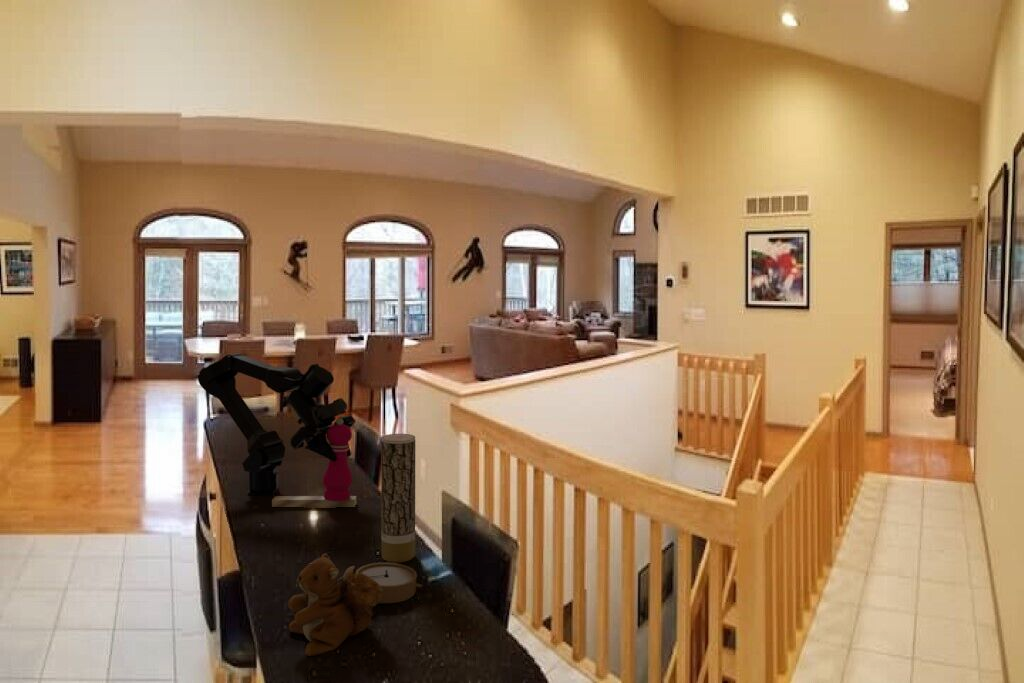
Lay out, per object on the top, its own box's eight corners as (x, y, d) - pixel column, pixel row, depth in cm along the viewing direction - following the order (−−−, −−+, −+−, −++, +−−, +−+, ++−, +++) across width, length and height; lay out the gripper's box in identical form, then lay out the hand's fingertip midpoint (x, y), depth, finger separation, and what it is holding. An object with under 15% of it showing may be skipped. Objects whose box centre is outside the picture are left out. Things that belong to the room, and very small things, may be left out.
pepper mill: (318, 501, 174) (320, 419, 172) (327, 492, 181) (329, 414, 179) (347, 502, 173) (350, 421, 172) (355, 494, 181) (358, 416, 179)
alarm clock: (428, 582, 128) (347, 583, 121) (423, 609, 128) (342, 612, 121) (405, 559, 138) (329, 560, 130) (401, 584, 138) (324, 586, 130)
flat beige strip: (272, 507, 175) (272, 500, 175) (275, 504, 178) (275, 496, 178) (354, 507, 176) (354, 499, 176) (356, 503, 179) (356, 496, 179)
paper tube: (387, 566, 141) (387, 442, 139) (377, 554, 147) (376, 435, 145) (419, 560, 144) (420, 439, 142) (408, 549, 150) (408, 432, 148)
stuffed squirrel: (284, 630, 115) (283, 552, 114) (370, 613, 122) (370, 539, 120) (294, 661, 106) (293, 575, 105) (387, 641, 113) (386, 560, 111)
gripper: (299, 394, 168) (336, 446, 164) (349, 384, 185) (384, 430, 181) (274, 423, 172) (310, 474, 169) (325, 411, 189) (359, 457, 185)
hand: (343, 458), depth 176 cm, fingers closed on pepper mill, 5 cm apart
